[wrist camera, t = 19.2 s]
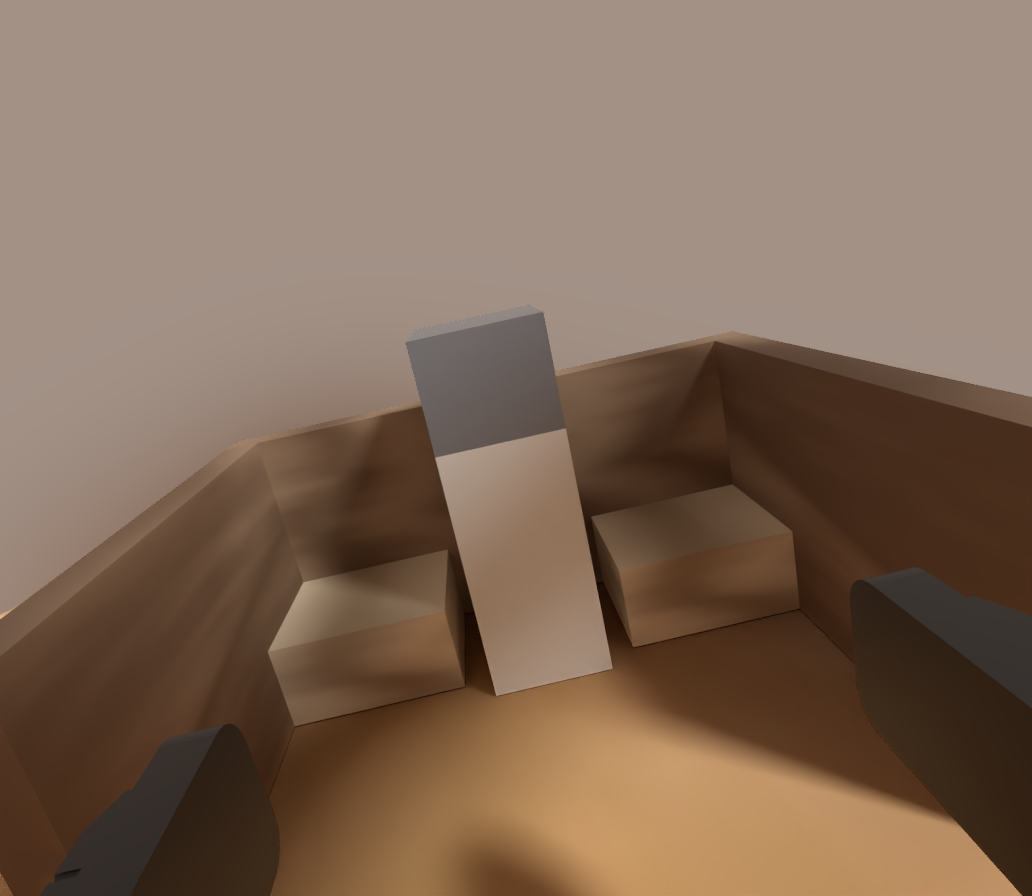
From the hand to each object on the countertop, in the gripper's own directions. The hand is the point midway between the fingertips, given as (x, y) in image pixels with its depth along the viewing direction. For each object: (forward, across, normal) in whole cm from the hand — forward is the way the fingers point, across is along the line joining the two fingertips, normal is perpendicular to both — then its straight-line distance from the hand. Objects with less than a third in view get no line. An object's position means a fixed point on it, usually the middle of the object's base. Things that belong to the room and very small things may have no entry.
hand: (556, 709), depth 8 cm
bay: (+11, 0, +8) cm, 13 cm away
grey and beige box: (+14, 0, +8) cm, 16 cm away
